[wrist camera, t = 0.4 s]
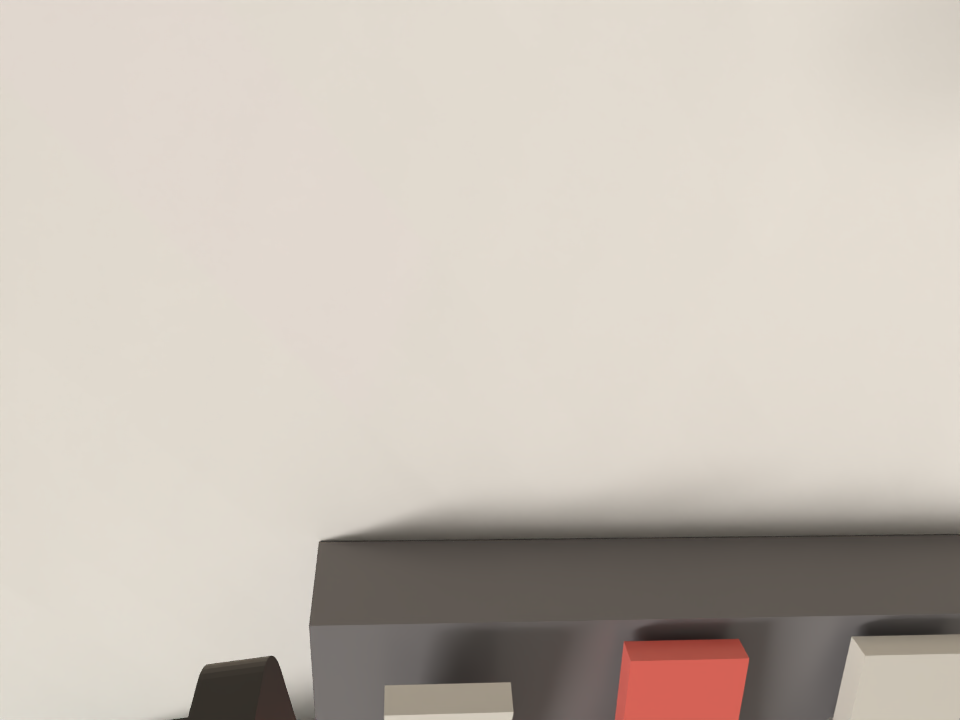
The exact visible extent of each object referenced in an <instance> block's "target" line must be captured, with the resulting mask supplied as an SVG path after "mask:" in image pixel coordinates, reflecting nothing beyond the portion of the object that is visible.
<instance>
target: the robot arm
mask: <svg viewBox="0 0 960 720" xmlns="http://www.w3.org/2000/svg"><path fill="white" fill-rule="evenodd" d="M173 720H296V718H295V715H294V711H293V708H292V705H291V702H290V698H289V695H288V692H287V689H286V685H285V682H284V679H283V675H282V672H281V669H280V666H279V663H278V661H277V659H276V658H275V657H274V656H267V657H259V658H252V659H244V660H237V661H230V662H222V663H215V664H207V665H206V666H204V668H203V669H202V671H201V673H200V676H199V679H198V682H197V686H196V690H195V693H194V697H193V701H192V705H191V708H190V712H189V716H188V718H180V719H173Z"/></svg>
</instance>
